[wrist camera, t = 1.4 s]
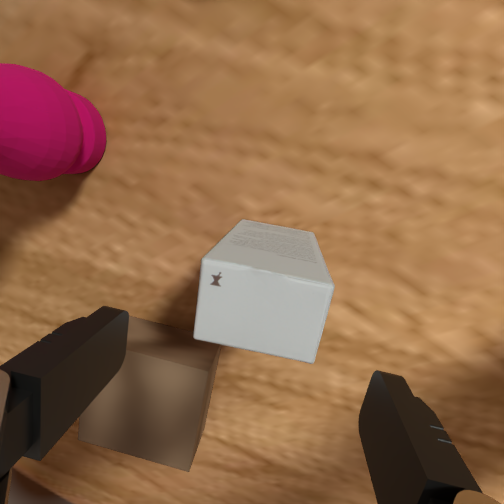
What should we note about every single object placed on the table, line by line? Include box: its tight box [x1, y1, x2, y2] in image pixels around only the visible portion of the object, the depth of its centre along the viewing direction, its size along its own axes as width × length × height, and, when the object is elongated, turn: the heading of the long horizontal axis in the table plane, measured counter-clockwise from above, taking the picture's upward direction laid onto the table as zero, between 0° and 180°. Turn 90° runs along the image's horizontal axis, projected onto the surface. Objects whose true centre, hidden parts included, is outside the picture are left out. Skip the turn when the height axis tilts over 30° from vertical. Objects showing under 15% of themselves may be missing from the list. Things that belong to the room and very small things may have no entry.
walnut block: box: [78, 316, 221, 472], centre depth 28 cm, size 10×10×5 cm
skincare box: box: [193, 219, 335, 364], centre depth 20 cm, size 6×4×12 cm
